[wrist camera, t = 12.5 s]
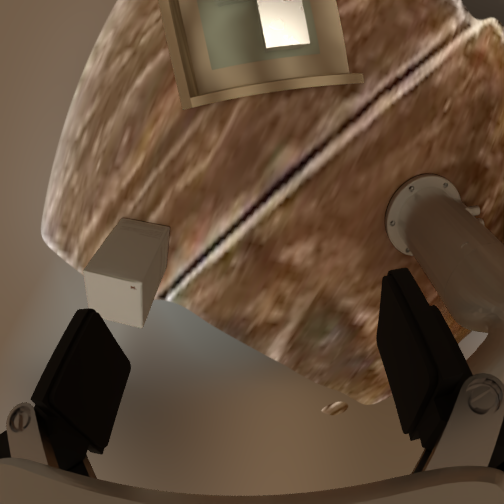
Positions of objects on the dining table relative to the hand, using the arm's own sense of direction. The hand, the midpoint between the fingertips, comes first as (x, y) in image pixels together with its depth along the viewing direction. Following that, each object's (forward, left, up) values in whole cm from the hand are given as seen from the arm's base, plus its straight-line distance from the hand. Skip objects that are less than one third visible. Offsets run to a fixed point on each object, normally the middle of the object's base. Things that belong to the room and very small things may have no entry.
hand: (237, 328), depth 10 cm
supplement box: (+18, +12, -31) cm, 37 cm away
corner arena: (-3, -13, -30) cm, 33 cm away
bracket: (-3, -14, -29) cm, 33 cm away
